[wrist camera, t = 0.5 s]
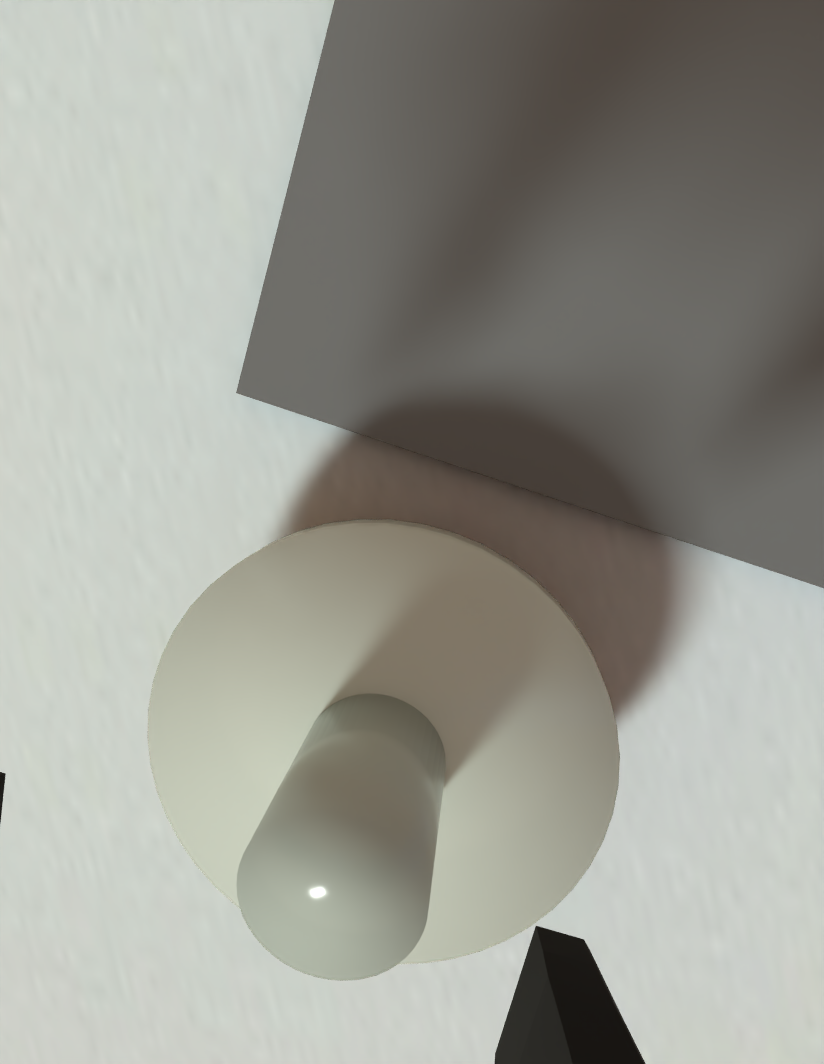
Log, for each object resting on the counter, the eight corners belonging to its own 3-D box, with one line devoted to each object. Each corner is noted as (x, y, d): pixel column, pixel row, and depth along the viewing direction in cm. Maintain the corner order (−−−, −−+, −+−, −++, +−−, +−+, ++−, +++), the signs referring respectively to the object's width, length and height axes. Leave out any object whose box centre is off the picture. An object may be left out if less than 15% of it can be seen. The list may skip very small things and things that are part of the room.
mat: (1247, 84, 14) (1269, 75, 13) (954, 629, 16) (965, 635, 16) (383, -167, 14) (380, -182, 14) (242, 392, 17) (236, 392, 17)
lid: (687, 610, 14) (787, 724, 9) (519, 995, 16) (531, 1242, 11) (223, 454, 14) (93, 486, 10) (124, 850, 17) (-21, 1030, 12)
